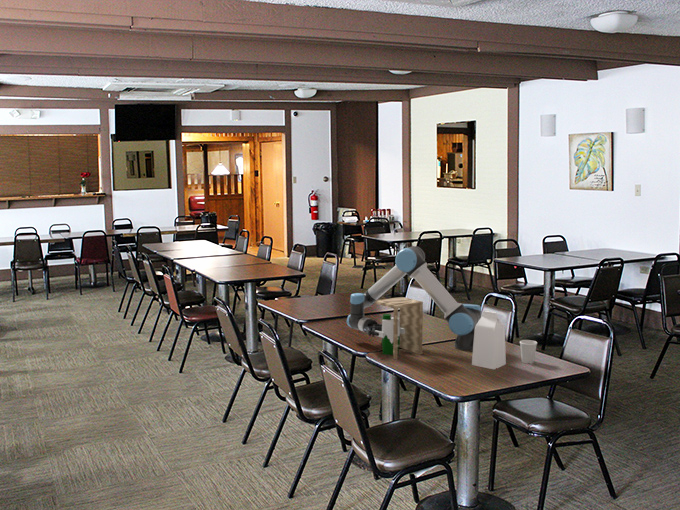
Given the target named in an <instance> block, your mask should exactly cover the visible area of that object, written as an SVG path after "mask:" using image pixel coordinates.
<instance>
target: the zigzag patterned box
mask: <svg viewBox="0 0 680 510" xmlns="http://www.w3.org/2000/svg"><path fill="white" fill-rule="evenodd" d="M374 304H375V305H379V306H382V307H385V308H386V307H387V308H390V309H393V317H394V319H393V355H392V359H394V360H397V359H398V353H397V349H398V318H399V321H400V328H403V329H405V334H401V333H400V345H399V349H400V348H401V349H404V350H406V351H408V352H412V353H415V354H419V355H422V354H423V325H424V324H423V320H424V319H423V316H424V315H423V313H424V312H423V311H424V308H423V307H424V306H423V305H424V302H423V301H422V300H417V299H412V298H409V297H403V296H400V297H392V298H386V299H385V298H384V299H377V300H376V301H375V303H374Z"/></svg>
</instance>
